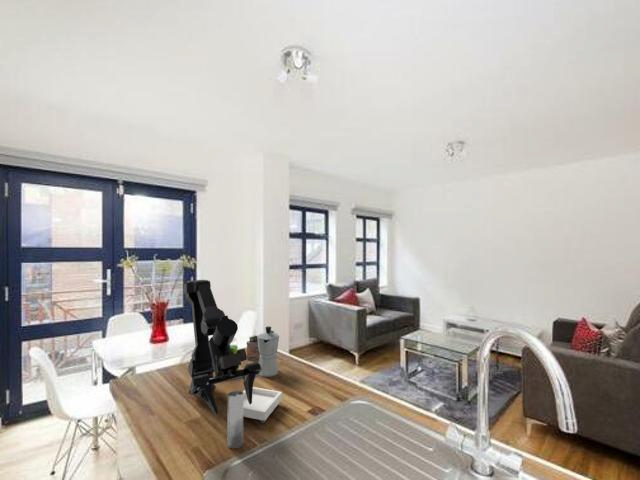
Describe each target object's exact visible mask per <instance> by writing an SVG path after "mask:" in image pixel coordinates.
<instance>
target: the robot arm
mask: <svg viewBox="0 0 640 480" xmlns="http://www.w3.org/2000/svg"><path fill="white" fill-rule="evenodd" d="M211 287H212V285H211V281H210V280H209V279H193V280H187V281H186V283H184V284H183V293H184V295H185V299H186V301H187V302H188V303H189V304H190V305H191V314H192V326H193V333H194V343H195V346H194V349H193V351H192V353H191V359H190V361H189V363H188V366H187V370H188V374H189V376H190V378H191V382H190V385H189V390H188V393H190V395H191V396H194V395H195V396H196V397H197V398H202V400H203V401H204V402H205V403H206V404H207V406H208V407H209V408H210V410H211V411H212V413H213V414H214V416H217V415H218V407H217V403H216V400H215V397H214V393H213V390H214V388H216V385H217V384H221V383H224V382H228V381H229V382H230V381H232V380H235V379H240V378H242V379H243V380H244V381H243V388H244V390H245V391H246V395H247V399H248V402H249V404H251V403H252V392H253V387H254V382H255V380H256V378H258V377H259V376H260V375H259V374H260V372H261V371H262V368H261V365H260V364H259V361H256V362H251V363H248V364H245V366H244V367H243V369H239V368H240V366H241V365H242V362H245V361H248V360H247V350H246V349H245V348H239V349H238V350H237V349H236V350H237V353H236V354H234V352H233V351H231V347H232V346H231V344H232V343H233V341H234V338H235V337H236V334H237V332H238V323H237V322H236V321H235V320H233V319H231V318H229V316H228V315H226V314H225V312H224V310H222V309H220V308H218V305H217V303H216V299H215V297H214V294H213V291H212V289H211ZM210 336H211V337H210ZM209 337H210V339H209ZM238 369H239V370H238Z"/></svg>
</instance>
